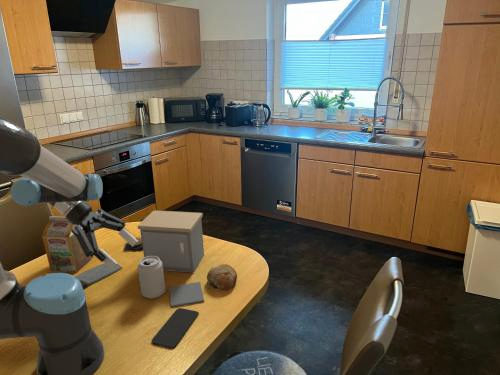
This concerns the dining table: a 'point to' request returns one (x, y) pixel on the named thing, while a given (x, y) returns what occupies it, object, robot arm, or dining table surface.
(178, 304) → the mat
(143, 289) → the can
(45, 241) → the milk carton
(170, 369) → the dining table surface
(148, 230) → the cabinet
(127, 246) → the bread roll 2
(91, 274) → the cleaver
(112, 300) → the dining table surface
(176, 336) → the phone
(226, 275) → the bread roll
